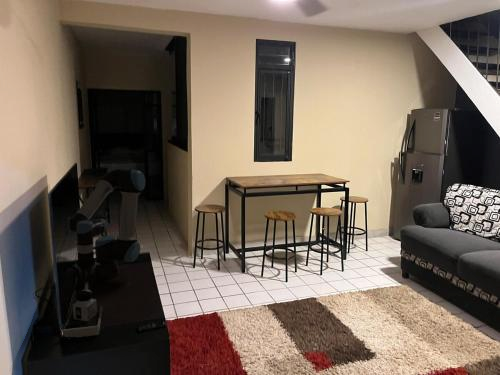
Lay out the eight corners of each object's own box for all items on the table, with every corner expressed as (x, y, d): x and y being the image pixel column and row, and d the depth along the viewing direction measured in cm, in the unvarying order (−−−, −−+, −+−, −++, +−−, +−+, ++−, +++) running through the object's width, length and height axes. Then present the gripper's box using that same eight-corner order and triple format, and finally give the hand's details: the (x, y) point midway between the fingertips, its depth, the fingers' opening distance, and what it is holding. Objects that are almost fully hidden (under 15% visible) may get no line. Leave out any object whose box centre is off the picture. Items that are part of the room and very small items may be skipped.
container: (87, 321, 186) (86, 296, 183) (73, 319, 187) (71, 294, 185) (97, 313, 193) (96, 289, 191) (83, 311, 195) (81, 287, 192)
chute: (70, 311, 194) (70, 304, 193) (102, 308, 198) (102, 301, 197) (62, 339, 171) (61, 330, 170) (98, 334, 175) (98, 326, 175)
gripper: (70, 255, 191) (72, 300, 195) (98, 253, 194) (100, 297, 199) (72, 249, 198) (74, 293, 202) (100, 248, 201) (101, 291, 206)
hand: (87, 295), depth 200 cm, fingers closed
